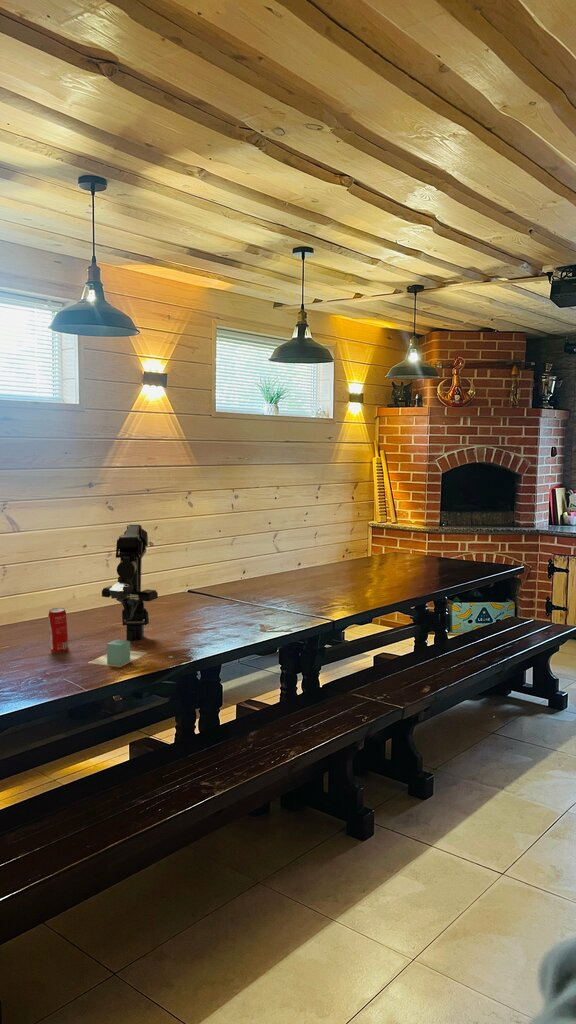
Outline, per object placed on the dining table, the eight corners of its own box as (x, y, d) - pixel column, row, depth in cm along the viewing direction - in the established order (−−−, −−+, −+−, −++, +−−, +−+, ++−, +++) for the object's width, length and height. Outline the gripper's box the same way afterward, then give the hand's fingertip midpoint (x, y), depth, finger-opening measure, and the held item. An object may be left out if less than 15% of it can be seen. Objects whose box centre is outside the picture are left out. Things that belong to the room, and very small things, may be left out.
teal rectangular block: (116, 659, 232) (116, 639, 232) (130, 661, 231) (129, 641, 230) (107, 663, 228) (106, 643, 227) (120, 665, 226) (120, 645, 225)
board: (117, 651, 244) (117, 649, 243) (147, 656, 239) (147, 653, 239) (87, 665, 229) (87, 662, 229) (119, 670, 224) (119, 667, 224)
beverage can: (70, 649, 246) (69, 606, 245) (65, 655, 240) (64, 611, 238) (53, 649, 246) (51, 606, 244) (47, 655, 239) (46, 611, 238)
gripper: (91, 574, 233) (91, 621, 235) (139, 579, 227) (140, 627, 228) (111, 569, 244) (112, 613, 245) (158, 573, 237) (158, 619, 239)
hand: (129, 618), depth 239 cm, fingers closed
